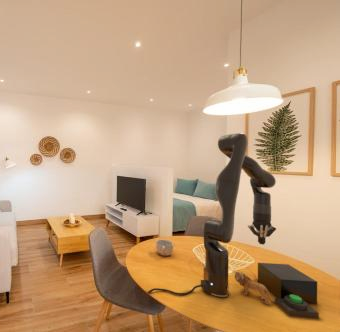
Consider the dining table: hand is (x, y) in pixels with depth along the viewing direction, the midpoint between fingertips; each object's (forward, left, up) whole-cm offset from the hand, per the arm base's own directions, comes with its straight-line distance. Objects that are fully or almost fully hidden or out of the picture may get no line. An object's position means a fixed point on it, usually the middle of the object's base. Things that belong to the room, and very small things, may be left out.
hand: (261, 243), depth 114 cm
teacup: (-47, +18, -17) cm, 53 cm away
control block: (-5, -29, -16) cm, 34 cm away
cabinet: (0, -16, -16) cm, 23 cm away
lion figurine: (-16, -22, -17) cm, 32 cm away
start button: (-5, -29, -13) cm, 32 cm away
